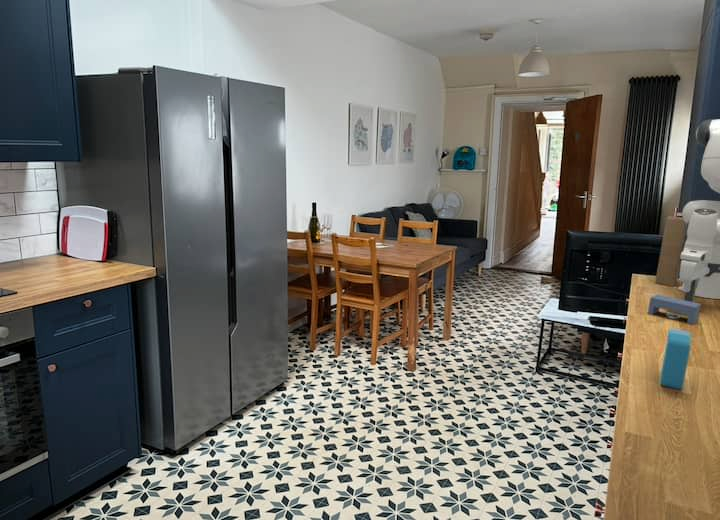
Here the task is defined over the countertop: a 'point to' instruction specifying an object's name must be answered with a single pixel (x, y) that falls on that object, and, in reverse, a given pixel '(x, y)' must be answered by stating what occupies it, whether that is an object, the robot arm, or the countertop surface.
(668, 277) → the decorative block
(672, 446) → the countertop surface
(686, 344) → the data package
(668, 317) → the steel token
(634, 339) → the countertop surface
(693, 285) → the scraper
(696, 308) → the blue-grey bridge block
